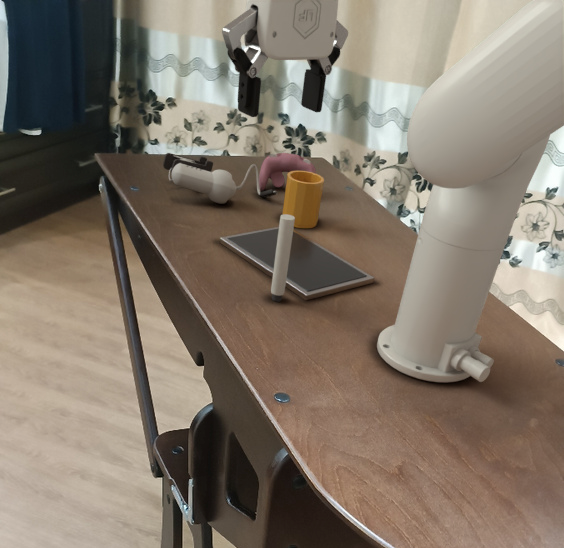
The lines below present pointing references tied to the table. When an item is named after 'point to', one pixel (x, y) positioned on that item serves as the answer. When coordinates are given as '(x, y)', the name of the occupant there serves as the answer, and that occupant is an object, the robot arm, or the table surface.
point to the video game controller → (282, 168)
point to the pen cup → (303, 197)
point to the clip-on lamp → (206, 178)
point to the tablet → (299, 263)
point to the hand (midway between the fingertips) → (280, 111)
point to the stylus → (282, 256)
